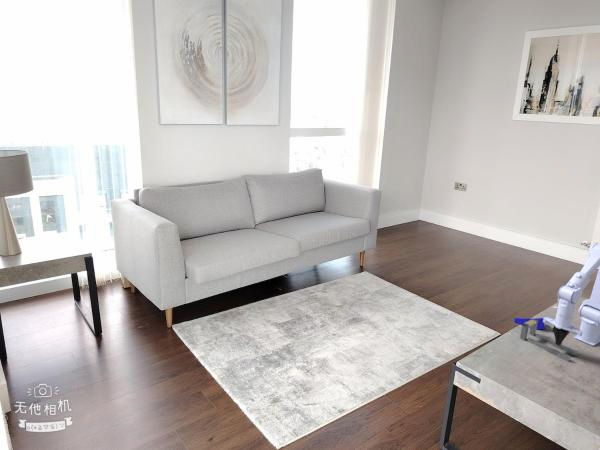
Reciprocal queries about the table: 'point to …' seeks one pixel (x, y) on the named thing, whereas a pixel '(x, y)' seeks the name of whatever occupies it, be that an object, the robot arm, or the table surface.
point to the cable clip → (523, 320)
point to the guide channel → (554, 349)
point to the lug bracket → (526, 325)
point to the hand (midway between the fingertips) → (558, 344)
